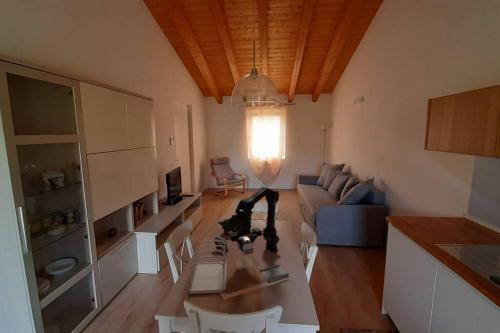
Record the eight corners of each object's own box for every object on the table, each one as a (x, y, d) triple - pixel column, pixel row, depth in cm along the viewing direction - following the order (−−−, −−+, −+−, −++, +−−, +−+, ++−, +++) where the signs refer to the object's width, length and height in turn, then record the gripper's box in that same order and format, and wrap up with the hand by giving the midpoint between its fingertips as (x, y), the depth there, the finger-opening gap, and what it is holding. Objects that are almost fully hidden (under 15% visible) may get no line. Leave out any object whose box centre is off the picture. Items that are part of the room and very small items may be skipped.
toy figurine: (249, 231, 190) (217, 230, 187) (251, 208, 187) (219, 206, 184) (250, 237, 181) (216, 235, 178) (252, 212, 178) (218, 210, 175)
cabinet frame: (278, 267, 138) (278, 263, 137) (288, 277, 129) (288, 273, 128) (259, 273, 133) (259, 268, 132) (268, 283, 124) (269, 278, 123)
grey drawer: (246, 246, 144) (246, 235, 143) (253, 252, 136) (253, 241, 135) (238, 247, 141) (237, 236, 140) (244, 255, 133) (244, 243, 132)
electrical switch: (229, 252, 155) (228, 238, 153) (223, 255, 152) (221, 242, 150) (220, 247, 162) (219, 234, 160) (214, 250, 159) (212, 237, 157)
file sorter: (225, 293, 117) (225, 263, 114) (189, 295, 115) (187, 264, 113) (226, 264, 141) (226, 239, 139) (196, 265, 140) (195, 240, 138)
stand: (251, 259, 147) (251, 256, 147) (258, 267, 138) (258, 265, 138) (232, 263, 142) (232, 261, 142) (239, 272, 133) (239, 270, 133)
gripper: (254, 215, 147) (253, 239, 149) (224, 220, 139) (225, 245, 142) (262, 221, 137) (262, 247, 139) (231, 227, 129) (232, 254, 132)
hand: (245, 248), depth 138 cm, fingers closed on grey drawer, 5 cm apart
